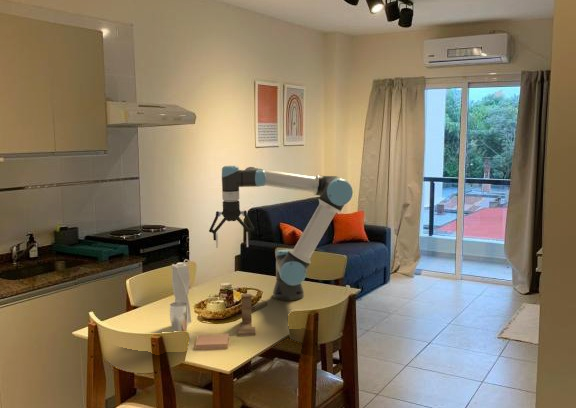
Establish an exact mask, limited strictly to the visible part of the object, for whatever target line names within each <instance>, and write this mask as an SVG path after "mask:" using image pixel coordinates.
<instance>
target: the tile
mask: <svg viewBox="0 0 576 408" xmlns="http://www.w3.org/2000/svg"><path fill="white" fill-rule="evenodd" d="M229 340H230V334H229V333H219V334H217V333H216V334H198V335H197V337H196V343H195V350H215V349H216V350H217V349H228V348H229V347H228V346H229Z"/></svg>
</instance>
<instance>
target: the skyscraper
mask: <svg viewBox="0 0 576 408" xmlns="http://www.w3.org/2000/svg"><path fill="white" fill-rule="evenodd" d="M186 261H187V264H186V263H185V262H186ZM190 273H191V272H190V260H189V259H186V258H185V259H184V260H183V262H177V263H176V264H175V263H172V264H171V284H172V291H173V296H174V302H178V301H183V302H186V303H187V308H188V322H187V326H188V325H189V324H190V323H191V322H192V314H191V306H190V301H189V299H190V298H189V291H190V285H191V284H190V283H191V274H190Z"/></svg>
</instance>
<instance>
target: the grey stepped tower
mask: <svg viewBox="0 0 576 408" xmlns="http://www.w3.org/2000/svg"><path fill="white" fill-rule="evenodd" d="M240 297H241V300H240V301H241V327H237V336H238V337H239V336H240V337H241V336H242V337H243V336H245V337H246V336H256V326H253V325H252V318H253V317H252V294H251V293H241V295H240Z"/></svg>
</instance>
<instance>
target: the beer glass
mask: <svg viewBox="0 0 576 408" xmlns="http://www.w3.org/2000/svg"><path fill="white" fill-rule="evenodd" d="M169 319H170V324H171V325H170V326H171V329H172V332H173V331H187V330H188V325H187V322H188V308H187V303H186V302H183V301H178V302H175V301H174V302H171V303H169ZM187 332H188V331H187Z"/></svg>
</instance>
